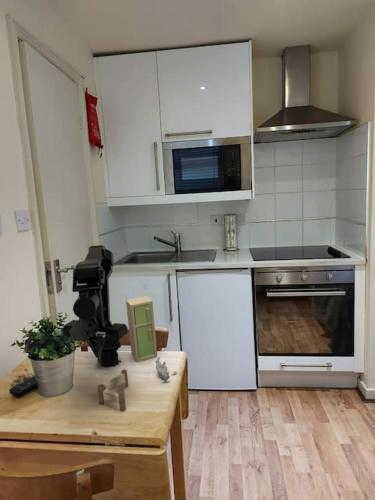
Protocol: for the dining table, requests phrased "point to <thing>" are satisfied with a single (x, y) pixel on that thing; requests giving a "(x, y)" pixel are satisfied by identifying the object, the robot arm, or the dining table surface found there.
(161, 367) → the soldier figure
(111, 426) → the dining table surface
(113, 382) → the fence gate
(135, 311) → the toy refrigerator
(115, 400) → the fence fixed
